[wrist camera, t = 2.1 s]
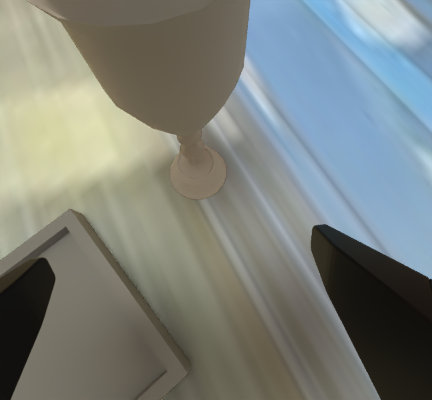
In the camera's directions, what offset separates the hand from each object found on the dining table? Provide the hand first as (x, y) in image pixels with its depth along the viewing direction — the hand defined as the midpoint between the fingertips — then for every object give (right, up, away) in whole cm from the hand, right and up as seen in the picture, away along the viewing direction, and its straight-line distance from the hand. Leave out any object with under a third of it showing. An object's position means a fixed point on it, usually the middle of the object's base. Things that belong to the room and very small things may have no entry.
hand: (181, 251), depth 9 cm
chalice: (0, +4, +15) cm, 16 cm away
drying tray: (-12, -10, +11) cm, 19 cm away
